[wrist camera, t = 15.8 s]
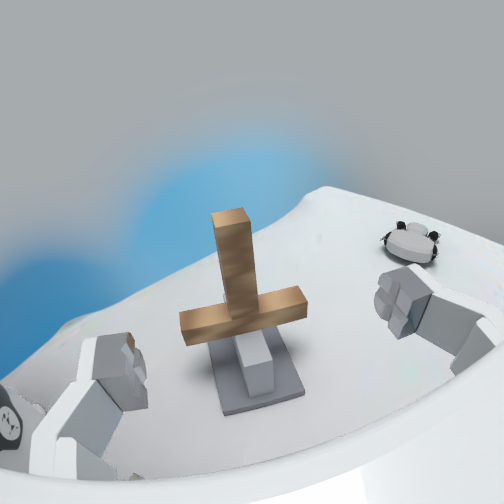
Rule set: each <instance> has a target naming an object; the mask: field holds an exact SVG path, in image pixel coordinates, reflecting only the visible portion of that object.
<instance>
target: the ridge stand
mask: <svg viewBox="0 0 504 504" xmlns="http://www.w3.org/2000/svg"><path fill="white" fill-rule="evenodd" d="M223 297H224V302H225V303H226V302H227V301H226V296H225V294H223ZM208 346H209V351H210V355H211V360H212V365H213V370H214V374H215V379H216V384H217V388H218V393H219V397H220V401H221V406H222V410H223V413H224V416H227V415H232V414H236V413H241V412H245V411H249V410H253V409H257V408H261V407H265V406H268V405H272V404H276V403H279V402H283V401H286V400H289V399H293V398H296V397H299V396H302V395H305V389H304V387H303V385H302V382H301V380H300V378H299V376H298V373H297V371H296V369H295V367H294V364H293V362H292V360H291V358H290V356H289V353H288V351H287V349H286V347H285V344H284V342H283V340H282V338H281V335H280V333H279V331H278V329H277V326H273V327H269V328H265V329H261V330H257V331H253V332H249V333H245V334H241V335H236V336H232V337H228V338H223V339H219V340H214V341H209V342H208Z"/></svg>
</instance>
